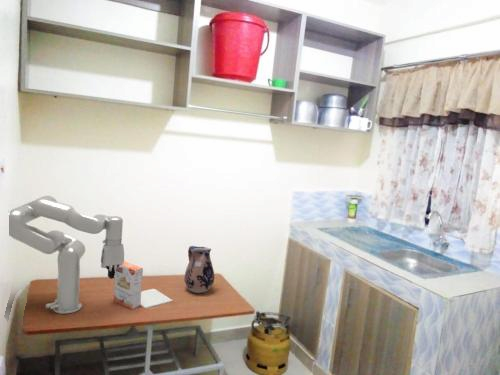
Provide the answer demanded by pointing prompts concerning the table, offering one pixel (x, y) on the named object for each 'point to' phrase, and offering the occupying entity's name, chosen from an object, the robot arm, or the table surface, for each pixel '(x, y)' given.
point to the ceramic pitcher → (199, 270)
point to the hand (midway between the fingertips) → (111, 277)
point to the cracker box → (128, 285)
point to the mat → (153, 298)
